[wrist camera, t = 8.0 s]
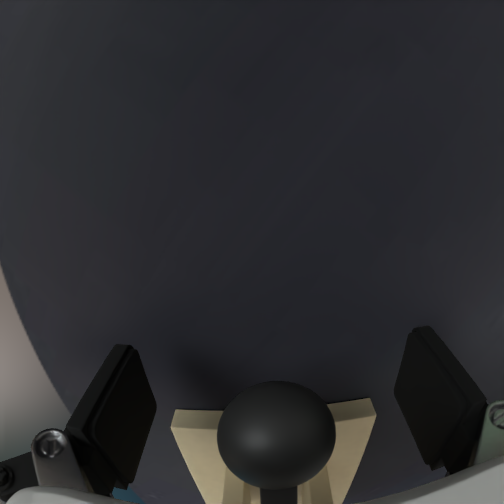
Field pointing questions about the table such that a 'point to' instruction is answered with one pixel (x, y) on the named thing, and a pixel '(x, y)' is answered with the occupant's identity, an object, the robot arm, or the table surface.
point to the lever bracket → (247, 496)
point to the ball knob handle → (276, 438)
